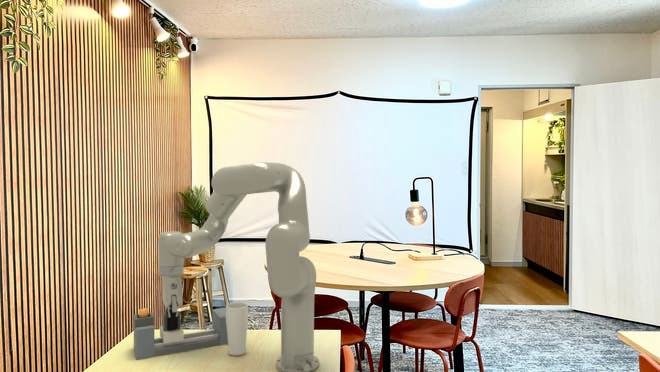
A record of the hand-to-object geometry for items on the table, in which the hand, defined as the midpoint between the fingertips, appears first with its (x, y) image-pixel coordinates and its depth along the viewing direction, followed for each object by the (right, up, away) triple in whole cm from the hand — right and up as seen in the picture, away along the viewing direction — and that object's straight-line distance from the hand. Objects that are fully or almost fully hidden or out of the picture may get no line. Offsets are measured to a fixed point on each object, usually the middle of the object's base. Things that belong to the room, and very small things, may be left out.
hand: (171, 326), depth 144 cm
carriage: (0, -4, 0) cm, 4 cm away
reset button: (-7, +4, -4) cm, 9 cm away
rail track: (+4, -7, +2) cm, 8 cm away
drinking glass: (+22, -7, -4) cm, 23 cm away
